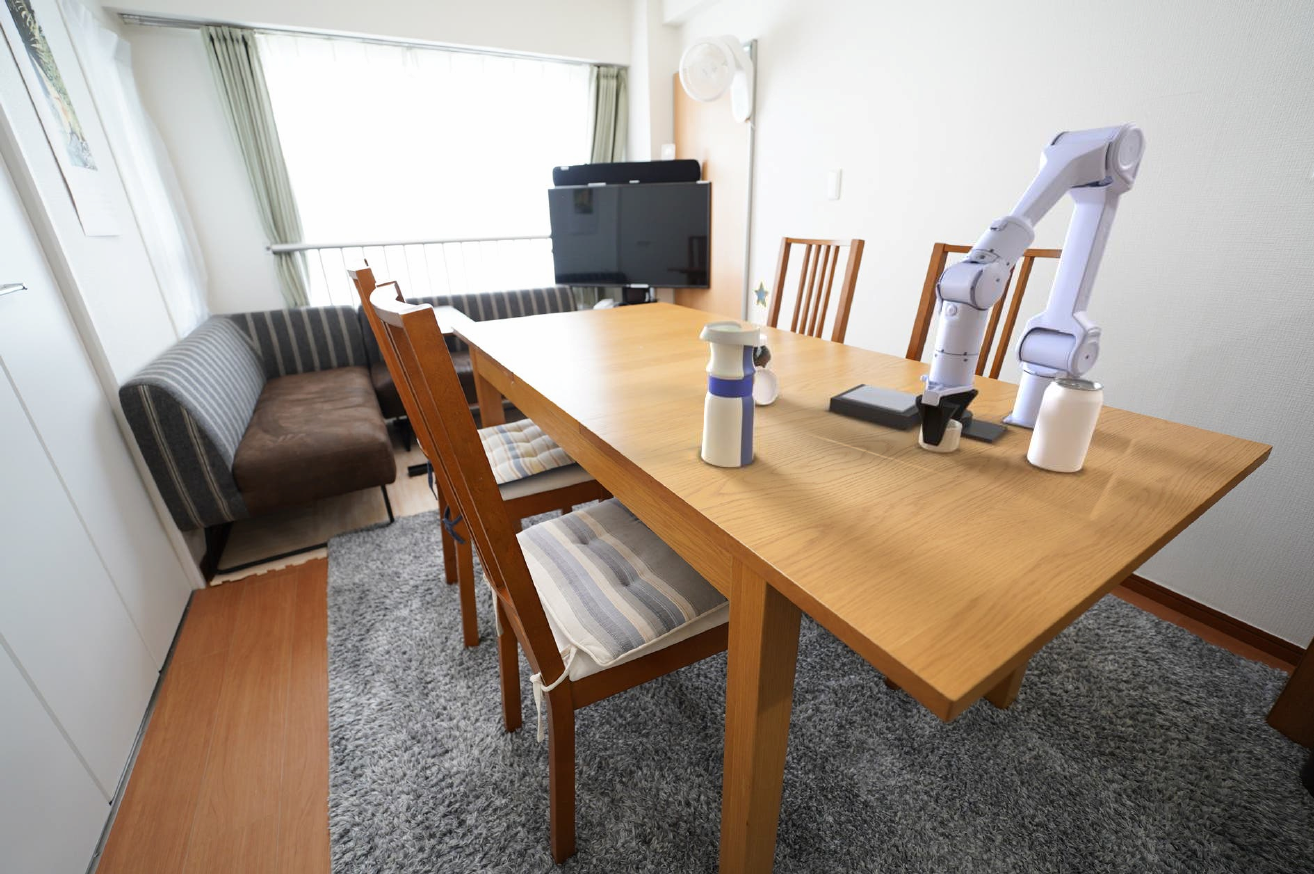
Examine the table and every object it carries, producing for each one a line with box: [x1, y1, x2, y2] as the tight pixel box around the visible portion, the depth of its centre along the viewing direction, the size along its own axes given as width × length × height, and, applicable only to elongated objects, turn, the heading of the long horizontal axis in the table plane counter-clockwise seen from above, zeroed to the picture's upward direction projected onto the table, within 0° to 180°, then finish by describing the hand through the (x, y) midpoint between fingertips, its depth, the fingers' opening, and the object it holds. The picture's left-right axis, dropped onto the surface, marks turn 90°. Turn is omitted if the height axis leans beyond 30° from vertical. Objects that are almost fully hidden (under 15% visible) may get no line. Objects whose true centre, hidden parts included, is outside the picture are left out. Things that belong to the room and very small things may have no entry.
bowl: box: [917, 419, 962, 454], centre depth 82 cm, size 5×5×4 cm
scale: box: [828, 383, 921, 432], centre depth 97 cm, size 14×12×3 cm
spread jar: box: [753, 333, 780, 406], centre depth 104 cm, size 12×11×12 cm
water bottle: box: [699, 281, 770, 468], centre depth 76 cm, size 8×9×25 cm
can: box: [1026, 378, 1104, 474], centre depth 75 cm, size 6×6×12 cm
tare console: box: [960, 408, 1008, 444], centre depth 90 cm, size 10×8×2 cm
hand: (938, 438), depth 83 cm, fingers closed on bowl, 5 cm apart
